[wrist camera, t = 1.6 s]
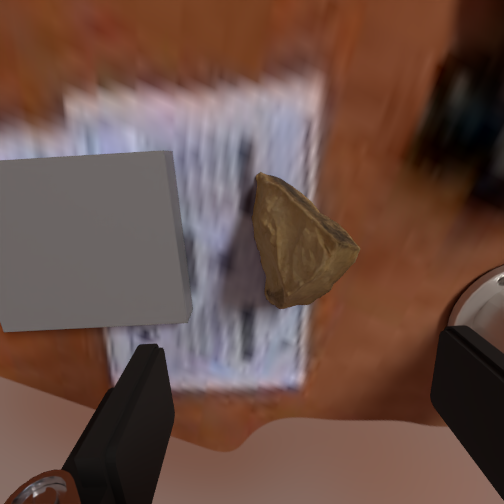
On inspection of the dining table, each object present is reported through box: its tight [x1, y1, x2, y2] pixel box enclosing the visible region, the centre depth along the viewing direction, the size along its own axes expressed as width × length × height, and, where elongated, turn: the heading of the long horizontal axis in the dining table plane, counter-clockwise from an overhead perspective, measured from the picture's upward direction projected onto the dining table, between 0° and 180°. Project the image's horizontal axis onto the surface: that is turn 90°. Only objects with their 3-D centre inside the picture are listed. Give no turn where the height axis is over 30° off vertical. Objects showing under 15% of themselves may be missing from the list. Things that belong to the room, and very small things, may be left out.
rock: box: [252, 172, 360, 309], centre depth 23 cm, size 11×9×10 cm
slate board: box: [0, 151, 193, 332], centre depth 25 cm, size 16×14×2 cm
